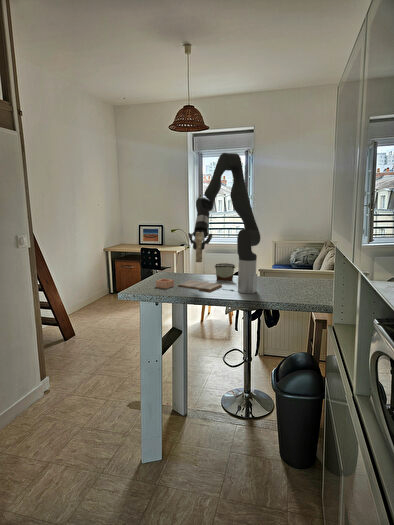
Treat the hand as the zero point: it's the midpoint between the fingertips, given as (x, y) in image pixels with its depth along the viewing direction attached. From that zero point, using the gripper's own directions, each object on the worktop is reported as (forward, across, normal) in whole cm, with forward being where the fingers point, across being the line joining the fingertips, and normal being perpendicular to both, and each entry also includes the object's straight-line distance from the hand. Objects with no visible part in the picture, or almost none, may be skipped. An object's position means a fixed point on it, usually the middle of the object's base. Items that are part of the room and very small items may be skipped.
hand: (198, 248), depth 190 cm
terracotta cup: (+16, -18, +14) cm, 28 cm away
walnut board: (+13, 0, +18) cm, 22 cm away
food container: (-2, +13, +33) cm, 35 cm away
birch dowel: (+4, 0, +7) cm, 8 cm away
